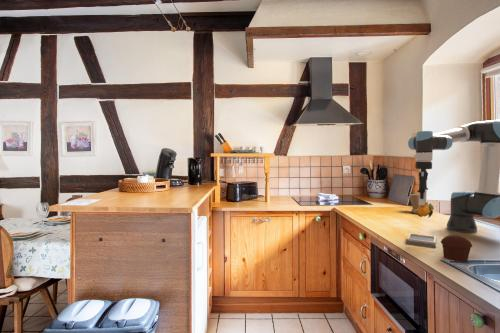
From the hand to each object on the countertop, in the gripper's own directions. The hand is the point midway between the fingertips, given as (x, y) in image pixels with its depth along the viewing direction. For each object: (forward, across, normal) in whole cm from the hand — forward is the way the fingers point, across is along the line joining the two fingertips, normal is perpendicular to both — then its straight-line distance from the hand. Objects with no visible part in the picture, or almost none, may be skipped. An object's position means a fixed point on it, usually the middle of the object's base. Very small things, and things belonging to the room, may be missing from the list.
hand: (422, 203), depth 160 cm
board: (+20, 0, 0) cm, 20 cm away
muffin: (+20, +20, +15) cm, 32 cm away
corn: (+7, +1, +1) cm, 7 cm away
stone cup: (+20, -85, -8) cm, 88 cm away
